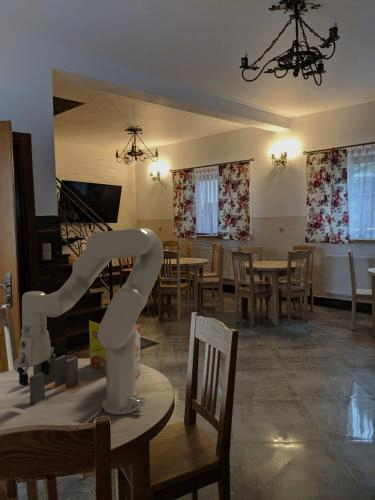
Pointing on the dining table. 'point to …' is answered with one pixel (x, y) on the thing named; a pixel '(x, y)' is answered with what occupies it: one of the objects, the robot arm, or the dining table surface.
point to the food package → (96, 348)
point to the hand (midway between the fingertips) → (34, 379)
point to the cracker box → (137, 353)
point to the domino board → (63, 386)
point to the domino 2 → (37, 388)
